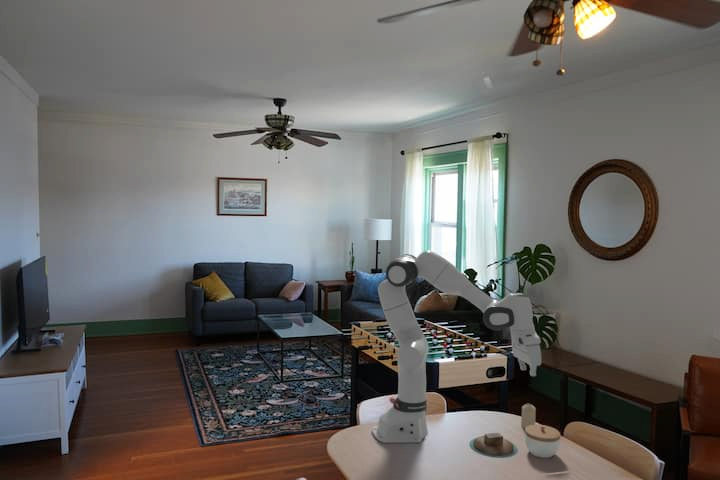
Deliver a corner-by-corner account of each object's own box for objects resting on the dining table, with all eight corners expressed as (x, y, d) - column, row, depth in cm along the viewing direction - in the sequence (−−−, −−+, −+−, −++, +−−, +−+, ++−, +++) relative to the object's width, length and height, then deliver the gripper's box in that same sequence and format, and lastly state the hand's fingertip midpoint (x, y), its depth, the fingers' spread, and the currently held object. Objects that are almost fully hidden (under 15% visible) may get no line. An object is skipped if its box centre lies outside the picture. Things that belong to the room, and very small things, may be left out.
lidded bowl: (559, 465, 201) (561, 435, 200) (523, 459, 205) (524, 430, 204) (558, 450, 213) (560, 422, 212) (524, 445, 217) (525, 417, 216)
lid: (485, 457, 204) (485, 445, 204) (466, 440, 219) (466, 429, 218) (521, 453, 208) (522, 441, 208) (500, 436, 223) (501, 425, 222)
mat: (483, 461, 202) (483, 459, 202) (461, 440, 220) (461, 438, 220) (527, 456, 207) (527, 454, 207) (502, 436, 225) (502, 434, 224)
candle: (535, 431, 230) (536, 407, 229) (521, 429, 231) (522, 406, 231) (534, 426, 236) (535, 402, 235) (520, 424, 237) (521, 401, 236)
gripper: (505, 332, 218) (510, 367, 219) (525, 342, 198) (530, 380, 198) (521, 330, 219) (526, 365, 219) (542, 339, 199) (547, 377, 199)
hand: (528, 372), depth 208 cm, fingers open, 8 cm apart
